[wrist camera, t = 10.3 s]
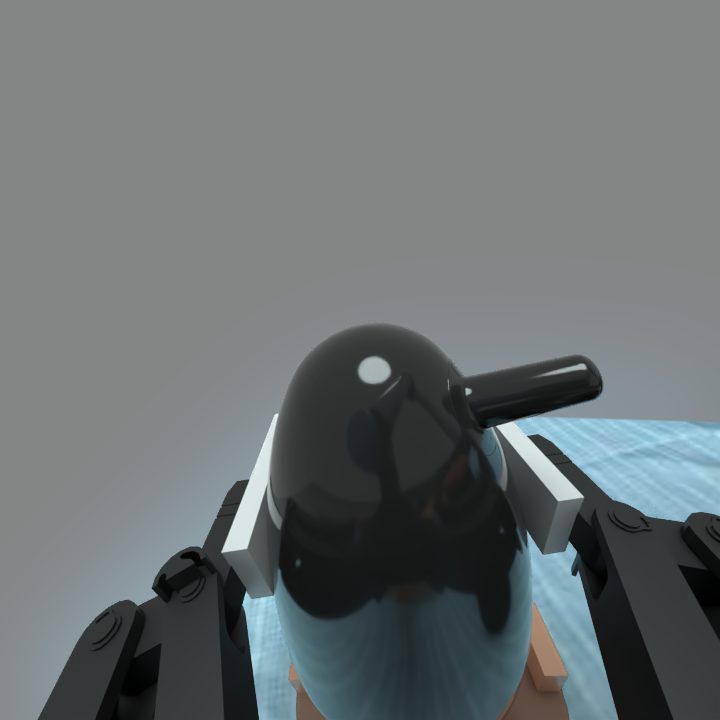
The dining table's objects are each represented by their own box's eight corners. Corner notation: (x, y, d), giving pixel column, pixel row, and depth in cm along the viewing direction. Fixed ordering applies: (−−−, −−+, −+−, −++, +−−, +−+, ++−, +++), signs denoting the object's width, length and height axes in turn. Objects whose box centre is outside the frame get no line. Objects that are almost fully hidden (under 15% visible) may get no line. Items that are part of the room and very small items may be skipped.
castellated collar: (491, 528, 23) (493, 505, 22) (688, 993, 9) (733, 1011, 8) (321, 539, 25) (313, 517, 23) (258, 957, 10) (229, 968, 9)
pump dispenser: (553, 894, 7) (1512, 886, 1) (262, 704, 11) (2, 431, 5) (504, 531, 16) (547, 276, 9) (349, 494, 19) (302, 295, 13)
